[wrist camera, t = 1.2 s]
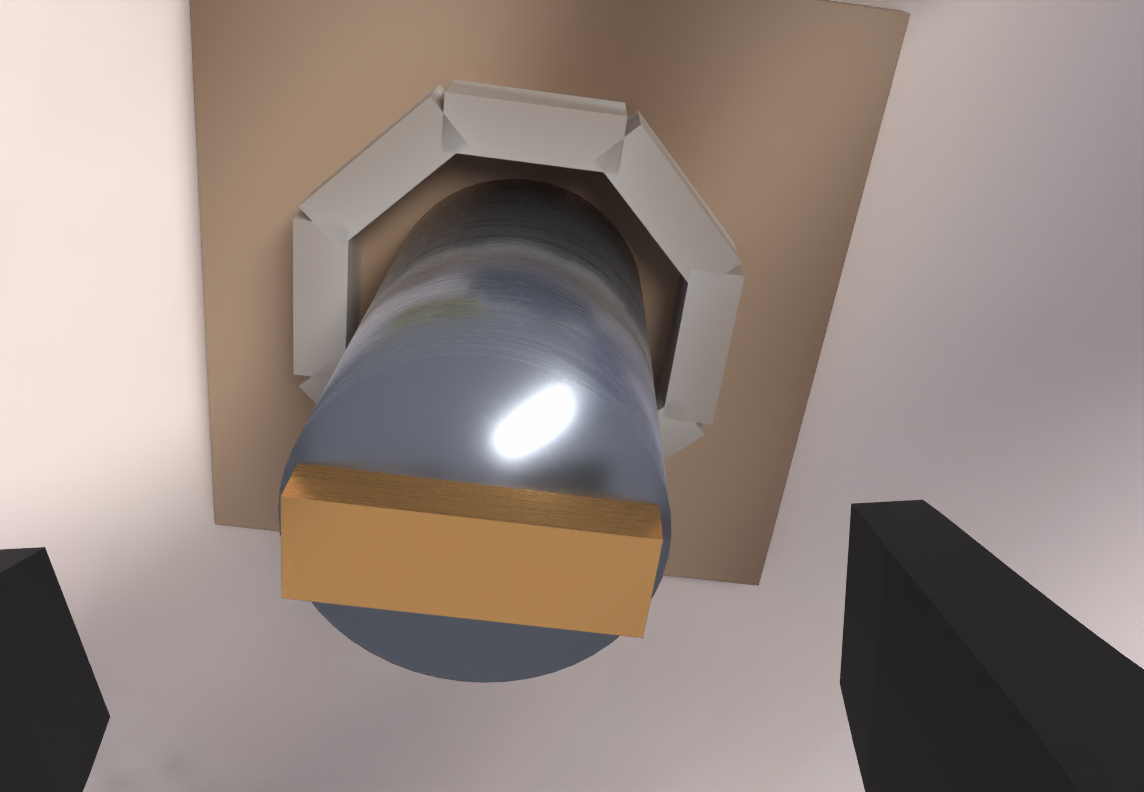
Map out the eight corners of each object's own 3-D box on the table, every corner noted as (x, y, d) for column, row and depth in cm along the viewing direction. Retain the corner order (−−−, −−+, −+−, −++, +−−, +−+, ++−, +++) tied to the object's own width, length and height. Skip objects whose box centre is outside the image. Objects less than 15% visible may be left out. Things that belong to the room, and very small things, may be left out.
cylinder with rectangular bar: (661, 196, 15) (712, 413, 9) (621, 425, 17) (641, 742, 10) (398, 162, 15) (255, 357, 8) (387, 397, 17) (263, 701, 10)
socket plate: (901, 10, 14) (932, 22, 13) (755, 572, 19) (767, 621, 17) (195, -88, 14) (156, -86, 12) (221, 511, 18) (195, 557, 17)
